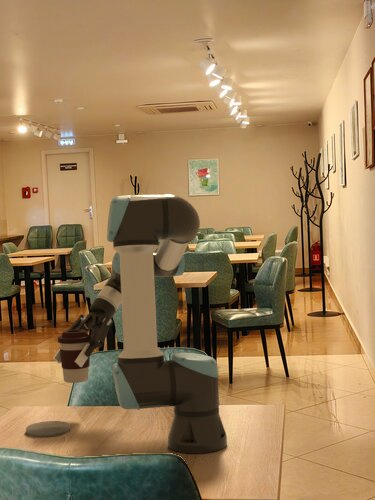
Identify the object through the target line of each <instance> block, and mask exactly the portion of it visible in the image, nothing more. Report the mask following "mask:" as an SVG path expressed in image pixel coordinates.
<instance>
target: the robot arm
mask: <svg viewBox="0 0 375 500" xmlns="http://www.w3.org/2000/svg"><path fill="white" fill-rule="evenodd" d="M108 211H109V212H108V219H107V229H106V230H107V231H106V233H107V234H106V239H107V240H106V241H108V242H110V243H113V244H112V245H113V246H112V247H113V248H112V249H113V250H114V251H115V253H114V255H113V258H112V261H111V273H110V277H109V278H108V280H107V281H106V282H105V284H104V286H102V289H101V290H100V291H99V292H98V294H97V296H96V298H95V299H94V300H93V301H92V303H91V305H90V306H89V313H88V314H86V315H84V314H83V313H81V314H80V315H79V317H78V318H77V319H76V321H74V323H72V325H71V326H70V327H69V328H68V329H67V330H85V331H86V333H88V332H89V331H91V332H90V335H91V337H90V341H89V342H88V343H89V344H86V345H85V347H84V348H83V350H82V351H81V353H80V354H79V356H78V357H77V359H76V360H75V362H76V363H77V364H78V365H79V366H80V367H82V366H83V365H84V363H85V362H86V360H87V359H88V357H89V356H90V357H91V355H92V354H93V352H94V351H95V349H97V348H99V349H100V348H102V347H103V345H104V343H105V340H106V338H107V335H108V332H109V330H110V328H111V327H112V325H113V324H114V321H113V320H112V318H113V317H114V315H115V313H116V312H117V310H118V309H119V307H120V305H121V315H122V316H121V317H122V319H121V320H122V341H123V342H122V343H123V344H122V345H123V349H122V351H121V352H119V354H118V355H117V360H118V362H115V363H114V364H112V376H113V382H114V388H115V392H116V393H115V394H116V397H117V400H118V403H119V406H120V407H121V408H122V409H124V410H138V411H140V409H141V410H142V409H156V408H157V409H158V408H167V407H168V408H170V407H171V408H172V407H173V418H172V421H171V425H170V429H169V432H168V436H167V447H168V448H169V449H170V450H172V451H175V452H179V453H183V454H207V453H212V452H217V451H220V450H221V449H224V448H226V447H227V444H228V440H227V439H228V438H227V432H226V429H225V427H224V424H223V421H222V418H221V415H220V400H219V399H220V397H219V395H220V393H219V392H220V391H219V389H220V388H219V378H220V375H219V368H218V362H217V360H216V359H215V358H214V357H211V356H209V355H206V354H201V353H195V352H194V353H193V352H177V353H176V352H175V353H173V354H172V356H171V359H167V360H165V357H164V355H165V354H164V352H163V351H162V350H161V349H160V348H159V346H158V332H157V331H158V330H157V329H158V328H157V312H156V310H157V309H156V290H155V278H165V277H166V278H167V277H168V278H170V277H171V278H173V277H179V276H182V275H184V273H185V269H186V267H185V266H186V263H185V262H186V261H185V255H184V253H186V249H187V247H188V246H189V244H190V243H192V241H194V240H195V238H196V237H197V236H198V233H199V231H200V226H201V222H200V221H201V220H200V216H199V213H198V212H197V210H196V208H195V206H193V205H192V204H191V202H189V201H188V200H187V199H184V198H183V197H181V196H178V195H175V194H169V193H167V194H165V193H164V194H127V195H118V196H114V197H113V198H112V199H111V201H110V205H109V209H108ZM159 240H160V242H159ZM52 358H53V360H55V361H56V362H57V363H58V364H61V356H60V347H59V348H58V350H57V351H56V353H55V355H54V356H53V357H52Z"/></svg>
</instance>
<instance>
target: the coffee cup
mask: <svg viewBox="0 0 375 500" xmlns="http://www.w3.org/2000/svg"><path fill="white" fill-rule="evenodd" d="M90 337H91V334H88V332H86V331H85V330H68V329H67V330H63V332H62V333H61V335H59V336H58V337H57V343H58V344H59V346H60V347H59V348H60V356H61V363H60V364H61V368H62V374H63V376H62V377H63V381H64V382H65V383H67V384H80V383H85V382H87V381H88V380H89V367H90V359H91V358H90V357H91V355H90V356H89V357H88V359H87V360H86V362H85V363H84V365H83V366H82V367H80V366H79V365H78V364H77V363H76V362H75V360H76V359H77V357H78V356H79V354H80V353H81V351H82V350H83V348H84V347H85V345H86V344H89V343H88V342H89V341H90ZM89 345H90V344H89Z"/></svg>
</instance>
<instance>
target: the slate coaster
mask: <svg viewBox="0 0 375 500" xmlns="http://www.w3.org/2000/svg"><path fill="white" fill-rule="evenodd" d="M70 429H71V428H70V423H69V422H65V421H62V420H47V421H39V422H36V423H32V424H29V425H27V426H26V427H25V434H26V435H27V436H29V437H33V438H42V439H43V438H52V437H53V438H55V437H58V436H62V435H65V434H67V433H69V432H70Z"/></svg>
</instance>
